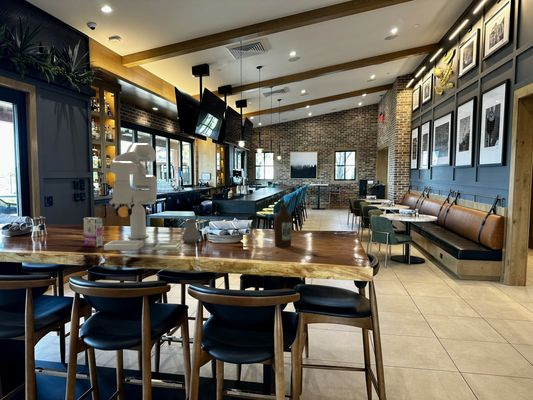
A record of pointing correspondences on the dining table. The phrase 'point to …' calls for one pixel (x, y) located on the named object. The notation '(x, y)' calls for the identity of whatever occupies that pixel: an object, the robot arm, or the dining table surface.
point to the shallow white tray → (124, 245)
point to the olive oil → (283, 228)
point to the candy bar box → (93, 232)
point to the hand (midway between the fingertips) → (123, 215)
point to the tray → (167, 246)
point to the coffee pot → (191, 232)
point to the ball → (123, 211)
